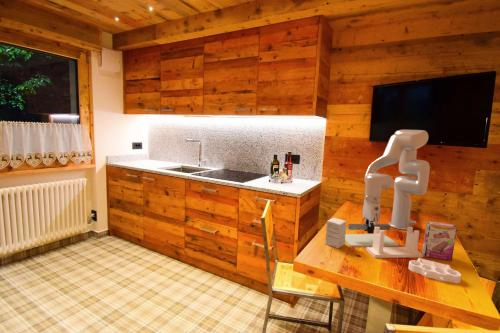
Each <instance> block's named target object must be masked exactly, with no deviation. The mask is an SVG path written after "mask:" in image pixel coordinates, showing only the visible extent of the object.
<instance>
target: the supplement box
mask: <svg viewBox="0 0 500 333" xmlns="http://www.w3.org/2000/svg"><path fill="white" fill-rule="evenodd" d="M345 234H347V221H346V220H344V219H340V218H336V217H333V218H330V219H329V220H326V232H325V245H328V246H330V247H334V248H336V249H339V248H341V247H342V246H345V244H346V242H345Z"/></svg>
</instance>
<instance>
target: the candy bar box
mask: <svg viewBox="0 0 500 333" xmlns="http://www.w3.org/2000/svg"><path fill="white" fill-rule="evenodd" d="M457 233H458V227H457V226H455V225H454V224H451V223H450V224H449V223H443V222H435V221H428V220H427V221H426V226H425V231H424V237H423V238H424V239H423V243H422V244H423V245H422V250H421V251H422V252H421V253H422V254H423V257H425V258H431V259H435V260H442V261H450V262H452V260H453V256H454V249H455V244H456V243H455V242H456V238H457V237H456V236H457Z"/></svg>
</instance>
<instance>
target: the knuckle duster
mask: <svg viewBox="0 0 500 333" xmlns="http://www.w3.org/2000/svg"><path fill="white" fill-rule="evenodd" d="M408 270H410V272H412V273H416V274H418V275H419V274H420V275H421V276H423V277H425V278H428V279H433V280H436V281H438V282H448V283H449V282H450V283H452V284H460V283H461V280H462V274H461V273H460V272H459V271H457V270H455V269H452V268H451V265H450V264H446V263H441V262H436V261H434V260H429V259H425V258H422V257H417V260H414V259H413V260H409V262H408Z"/></svg>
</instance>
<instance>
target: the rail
mask: <svg viewBox="0 0 500 333" xmlns="http://www.w3.org/2000/svg"><path fill="white" fill-rule="evenodd" d="M368 226H369V224H365V223H348V225H347V227H348V230H351V231H355V230H356V231H357V230H358V231H361V230H362V231H364V230H368ZM375 227H380V230H384V231H386V230H387V231H390V230H391V226H390V225H389V224H388V223H378V224H377V225H375ZM375 227H374V229H375ZM380 230H379V231H380Z"/></svg>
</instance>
